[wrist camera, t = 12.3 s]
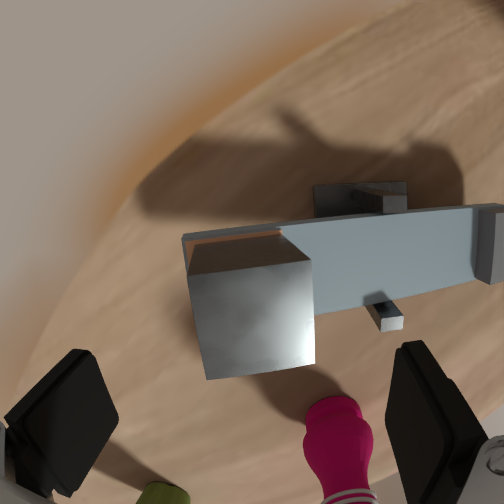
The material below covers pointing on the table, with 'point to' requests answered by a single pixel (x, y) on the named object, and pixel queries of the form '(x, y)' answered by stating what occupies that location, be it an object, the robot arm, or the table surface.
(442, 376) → the robot arm
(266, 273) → the iron block
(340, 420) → the pepper mill
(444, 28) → the table surface
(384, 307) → the stand
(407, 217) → the beam
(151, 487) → the plant pot
